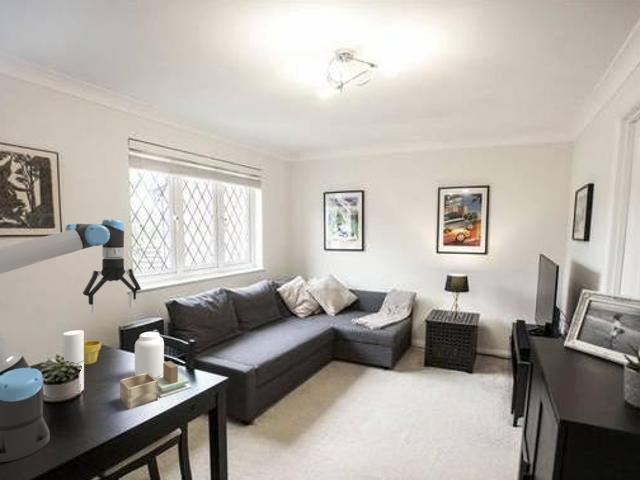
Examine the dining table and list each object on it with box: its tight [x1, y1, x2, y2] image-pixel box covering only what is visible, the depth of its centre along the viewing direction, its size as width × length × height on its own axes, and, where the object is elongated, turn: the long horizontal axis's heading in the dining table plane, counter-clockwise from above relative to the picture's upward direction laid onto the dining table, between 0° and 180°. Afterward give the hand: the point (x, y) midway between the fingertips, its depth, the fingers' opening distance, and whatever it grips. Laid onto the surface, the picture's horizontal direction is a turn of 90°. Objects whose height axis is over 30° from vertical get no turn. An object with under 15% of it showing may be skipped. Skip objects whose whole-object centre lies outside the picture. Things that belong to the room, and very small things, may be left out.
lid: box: [155, 360, 190, 393], centre depth 153 cm, size 12×12×10 cm
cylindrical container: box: [62, 329, 85, 393], centre depth 148 cm, size 7×7×25 cm
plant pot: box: [84, 339, 102, 365], centre depth 179 cm, size 10×10×10 cm
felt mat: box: [158, 383, 192, 399], centre depth 153 cm, size 13×13×1 cm
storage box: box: [119, 373, 159, 410], centre depth 142 cm, size 11×11×8 cm
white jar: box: [134, 331, 165, 379], centre depth 165 cm, size 12×12×20 cm
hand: (113, 310), depth 141 cm, fingers open, 13 cm apart
